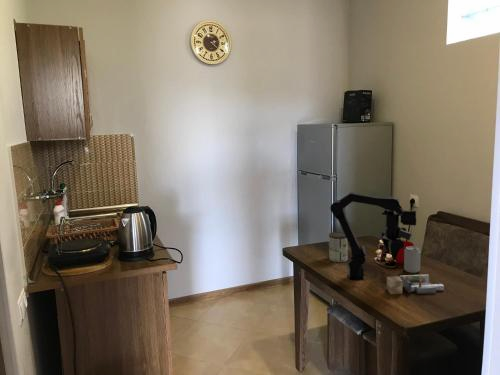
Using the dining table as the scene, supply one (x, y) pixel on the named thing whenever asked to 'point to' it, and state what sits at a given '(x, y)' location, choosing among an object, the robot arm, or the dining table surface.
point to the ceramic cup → (401, 252)
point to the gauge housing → (415, 281)
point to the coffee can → (338, 247)
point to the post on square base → (409, 287)
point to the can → (412, 259)
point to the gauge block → (394, 285)
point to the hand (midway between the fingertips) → (391, 256)
